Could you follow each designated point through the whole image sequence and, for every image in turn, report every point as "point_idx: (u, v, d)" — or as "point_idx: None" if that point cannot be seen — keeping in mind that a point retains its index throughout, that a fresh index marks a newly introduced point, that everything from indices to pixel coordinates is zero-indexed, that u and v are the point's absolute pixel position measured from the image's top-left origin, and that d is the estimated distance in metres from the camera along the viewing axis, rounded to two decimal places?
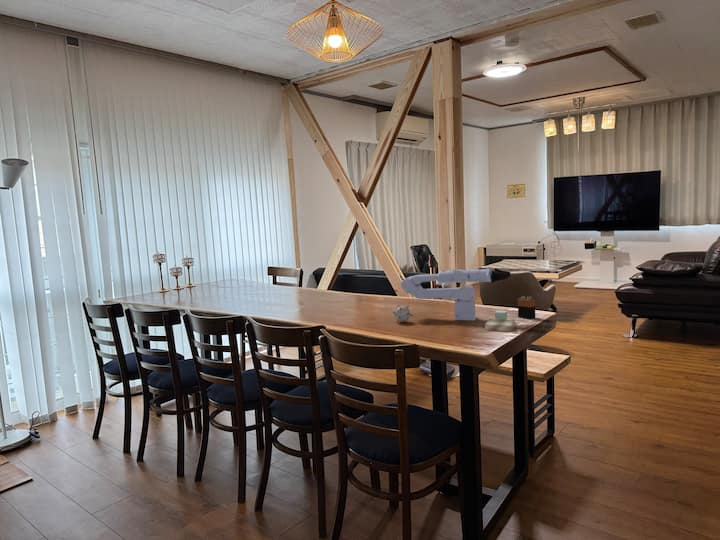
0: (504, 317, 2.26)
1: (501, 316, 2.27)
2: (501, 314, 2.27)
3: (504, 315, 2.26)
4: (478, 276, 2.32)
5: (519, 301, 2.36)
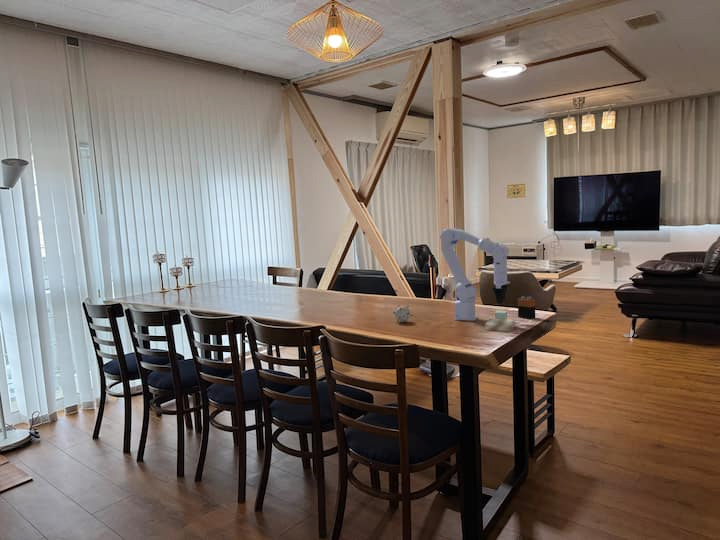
0: (504, 317, 2.26)
1: (501, 316, 2.27)
2: (501, 314, 2.27)
3: (504, 315, 2.26)
4: (499, 273, 2.24)
5: (519, 301, 2.36)
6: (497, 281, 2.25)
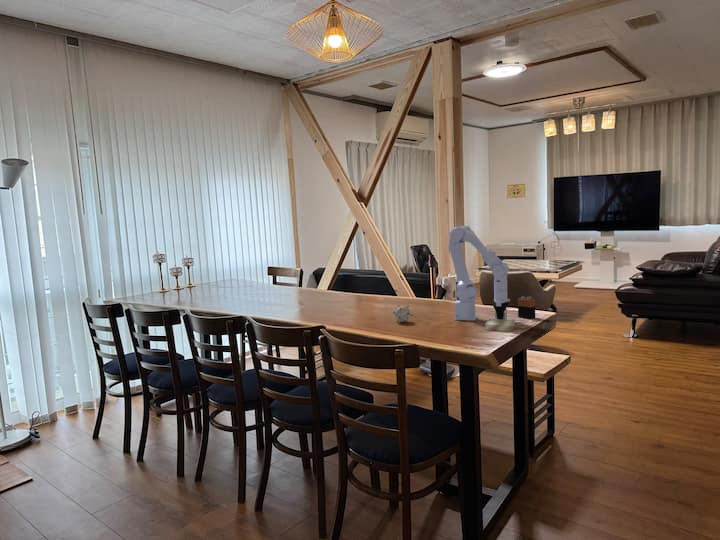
0: (504, 317, 2.26)
1: None
2: None
3: (504, 315, 2.26)
4: (499, 291, 2.25)
5: (519, 301, 2.36)
6: (497, 299, 2.26)
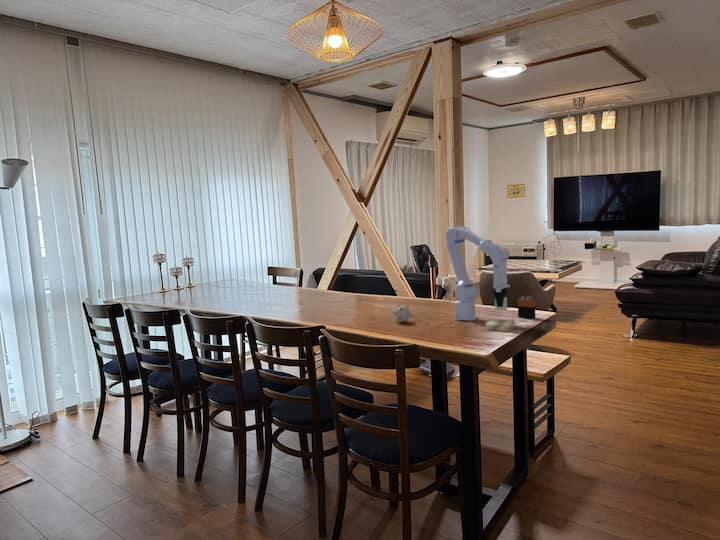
0: (504, 303, 2.21)
1: None
2: None
3: (504, 301, 2.21)
4: (499, 276, 2.20)
5: (519, 301, 2.36)
6: (497, 285, 2.21)
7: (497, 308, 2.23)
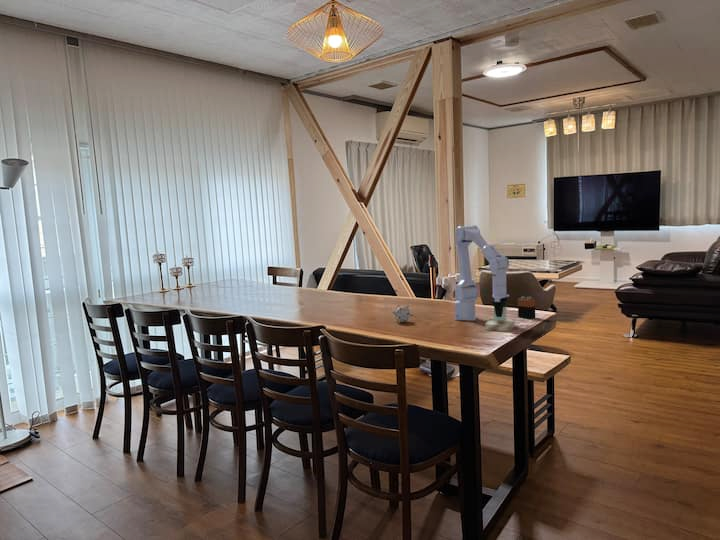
0: (503, 313, 2.15)
1: None
2: None
3: (503, 311, 2.15)
4: (498, 286, 2.14)
5: (519, 301, 2.36)
6: (496, 294, 2.15)
7: (496, 318, 2.17)
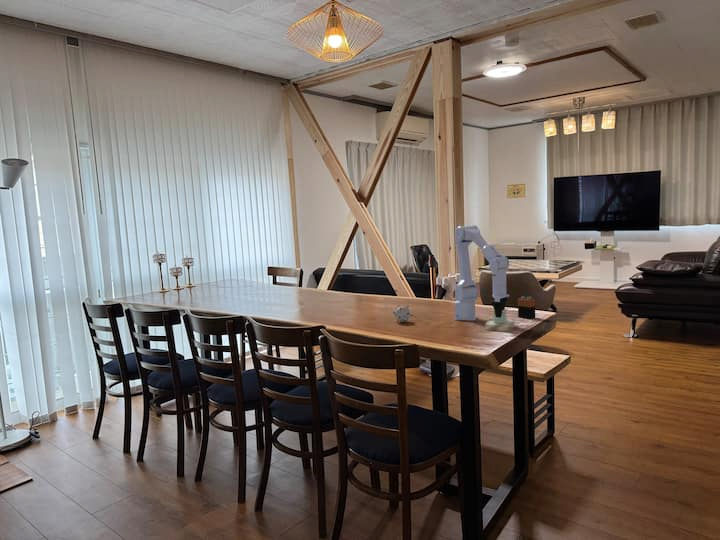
0: (503, 316, 2.16)
1: None
2: None
3: (503, 314, 2.15)
4: (498, 286, 2.14)
5: (519, 301, 2.36)
6: (496, 294, 2.15)
7: (496, 321, 2.17)
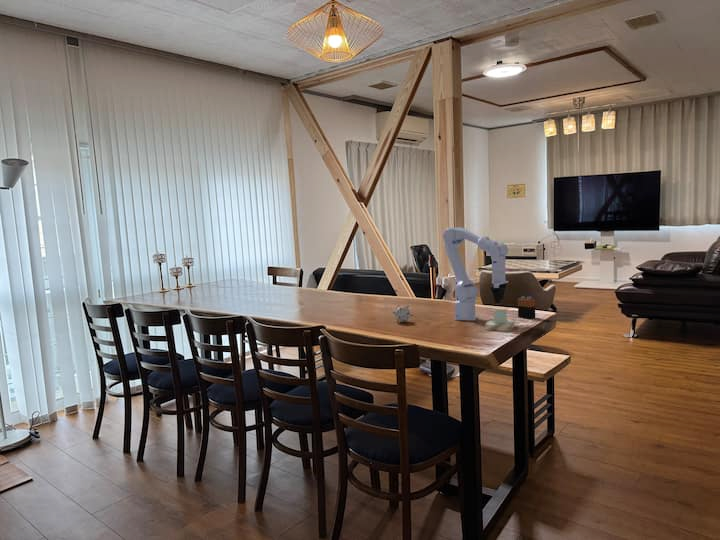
0: (503, 316, 2.16)
1: (500, 315, 2.16)
2: (500, 313, 2.16)
3: (503, 314, 2.16)
4: (497, 272, 2.21)
5: (519, 301, 2.36)
6: (495, 280, 2.22)
7: (496, 321, 2.17)
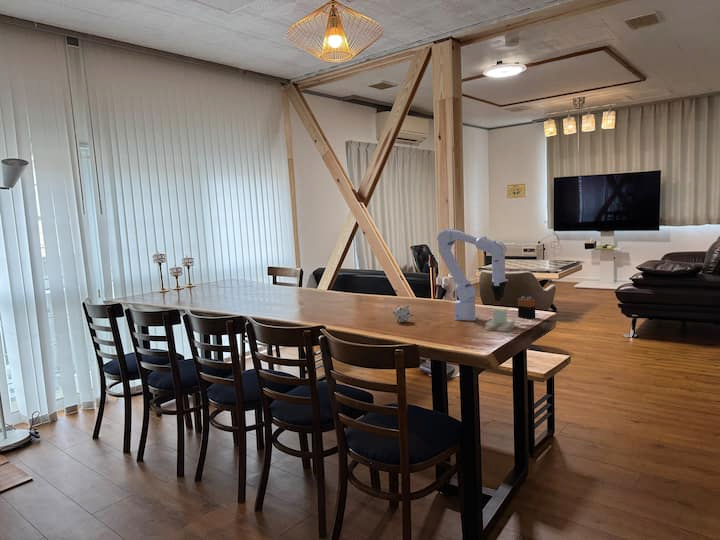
0: (503, 317, 2.16)
1: (500, 315, 2.16)
2: (500, 313, 2.16)
3: (503, 314, 2.16)
4: (497, 270, 2.26)
5: (519, 301, 2.36)
6: (495, 278, 2.26)
7: (496, 321, 2.17)
